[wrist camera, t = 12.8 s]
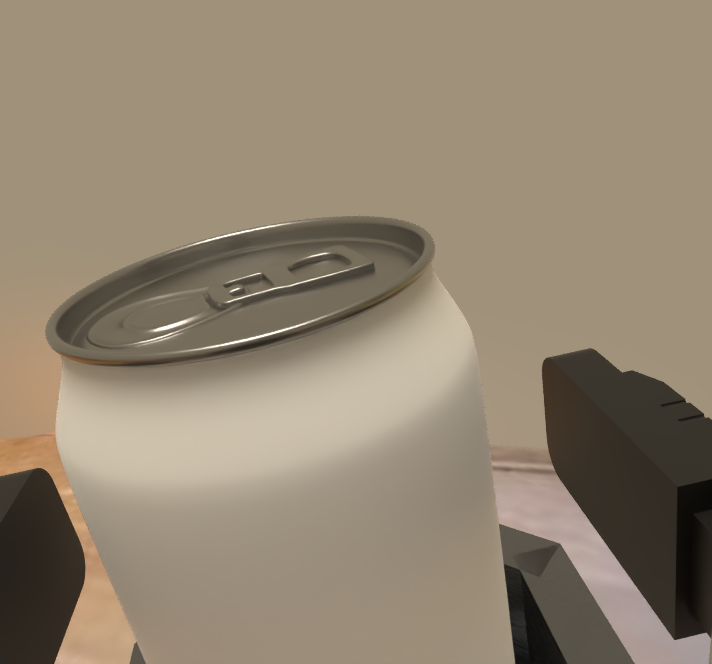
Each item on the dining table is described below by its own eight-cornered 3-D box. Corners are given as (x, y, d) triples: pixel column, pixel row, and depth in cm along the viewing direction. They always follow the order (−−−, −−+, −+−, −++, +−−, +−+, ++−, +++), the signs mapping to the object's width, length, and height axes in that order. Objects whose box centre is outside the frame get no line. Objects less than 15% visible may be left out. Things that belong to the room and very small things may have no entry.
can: (209, 730, 16) (29, 279, 11) (437, 619, 18) (361, 192, 13) (276, 1072, 10) (-31, 447, 6) (601, 859, 12) (569, 254, 7)
